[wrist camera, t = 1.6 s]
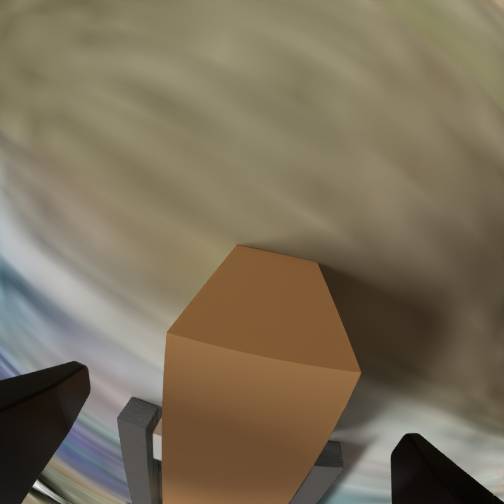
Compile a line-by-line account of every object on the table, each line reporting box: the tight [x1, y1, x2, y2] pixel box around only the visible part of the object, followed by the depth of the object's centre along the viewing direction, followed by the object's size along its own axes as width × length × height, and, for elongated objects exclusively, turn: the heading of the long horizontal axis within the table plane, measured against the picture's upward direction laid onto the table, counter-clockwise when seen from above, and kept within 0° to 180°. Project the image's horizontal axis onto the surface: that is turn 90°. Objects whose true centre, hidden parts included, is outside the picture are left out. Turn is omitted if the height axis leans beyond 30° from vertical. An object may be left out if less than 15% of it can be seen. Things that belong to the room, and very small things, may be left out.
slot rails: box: [117, 397, 344, 504], centre depth 14 cm, size 11×15×2 cm
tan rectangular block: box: [153, 245, 361, 504], centre depth 9 cm, size 6×9×7 cm
